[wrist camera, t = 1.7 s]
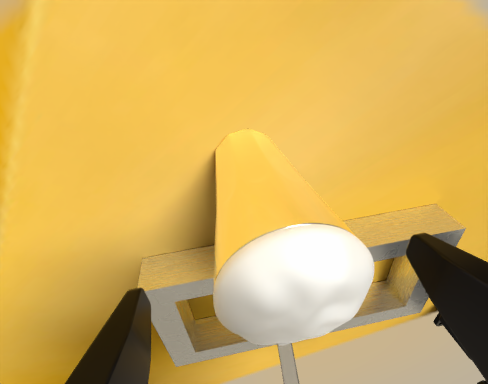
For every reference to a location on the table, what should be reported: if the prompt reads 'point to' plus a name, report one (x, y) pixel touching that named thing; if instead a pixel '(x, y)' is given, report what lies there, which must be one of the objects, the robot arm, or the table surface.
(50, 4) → the table surface
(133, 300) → the robot arm
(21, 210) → the table surface
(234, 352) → the block
